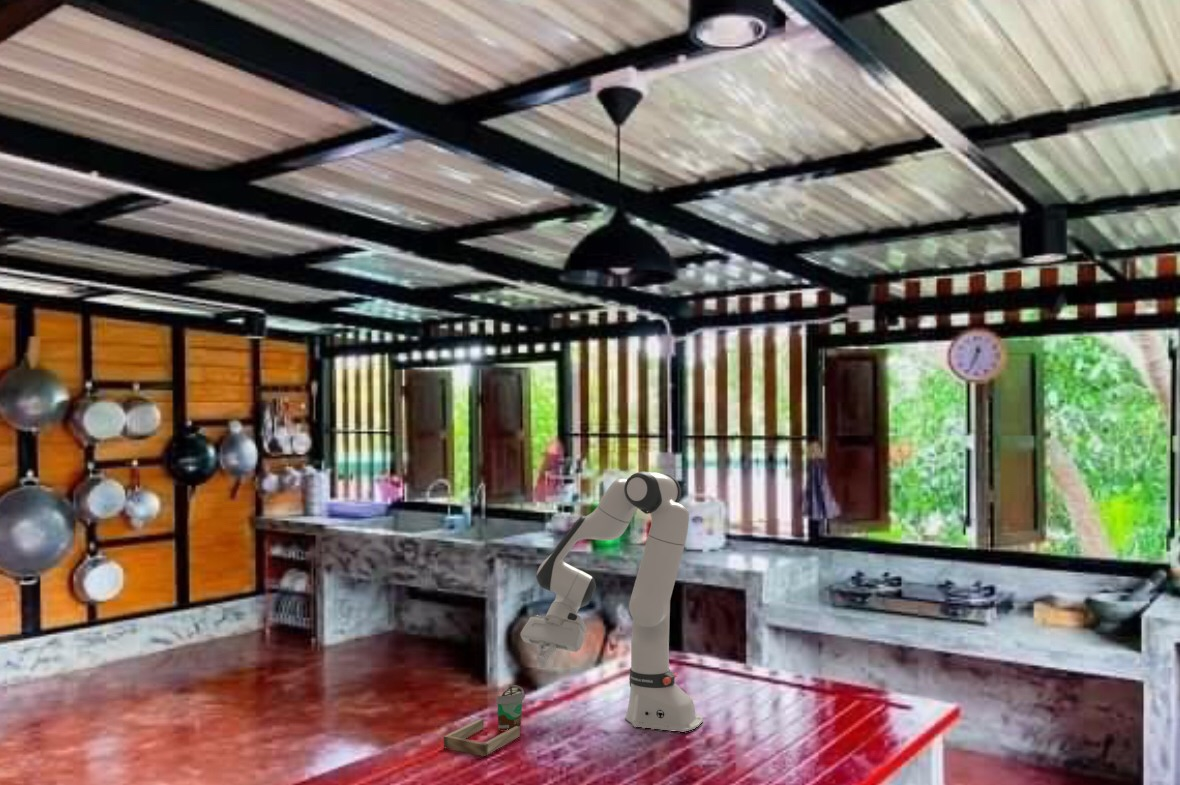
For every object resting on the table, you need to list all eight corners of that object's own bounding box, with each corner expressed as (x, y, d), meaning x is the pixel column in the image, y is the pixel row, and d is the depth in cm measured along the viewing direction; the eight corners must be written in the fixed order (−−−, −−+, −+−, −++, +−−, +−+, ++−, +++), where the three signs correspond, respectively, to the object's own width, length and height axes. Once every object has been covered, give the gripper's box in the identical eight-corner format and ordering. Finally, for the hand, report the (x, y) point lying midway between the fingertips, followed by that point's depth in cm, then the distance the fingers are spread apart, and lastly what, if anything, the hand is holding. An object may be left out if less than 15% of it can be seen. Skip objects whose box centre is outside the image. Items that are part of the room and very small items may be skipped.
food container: (518, 734, 252) (518, 698, 252) (496, 732, 253) (496, 696, 253) (529, 719, 264) (529, 685, 264) (509, 718, 265) (509, 683, 265)
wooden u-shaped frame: (519, 737, 249) (519, 726, 249) (484, 757, 235) (484, 745, 235) (479, 729, 255) (479, 718, 256) (443, 747, 241) (443, 736, 241)
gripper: (528, 608, 285) (509, 646, 276) (584, 617, 275) (567, 657, 266) (535, 620, 289) (517, 657, 280) (591, 629, 279) (574, 669, 270)
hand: (542, 657), depth 273 cm, fingers closed
